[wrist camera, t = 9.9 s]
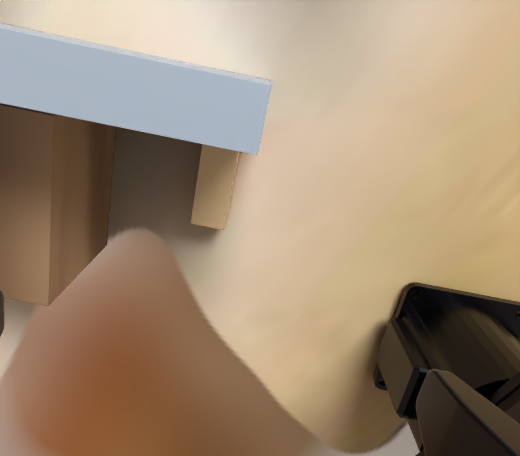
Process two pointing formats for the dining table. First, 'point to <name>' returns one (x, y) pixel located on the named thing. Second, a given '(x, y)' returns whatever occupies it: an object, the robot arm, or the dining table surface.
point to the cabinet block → (51, 200)
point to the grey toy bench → (141, 102)
